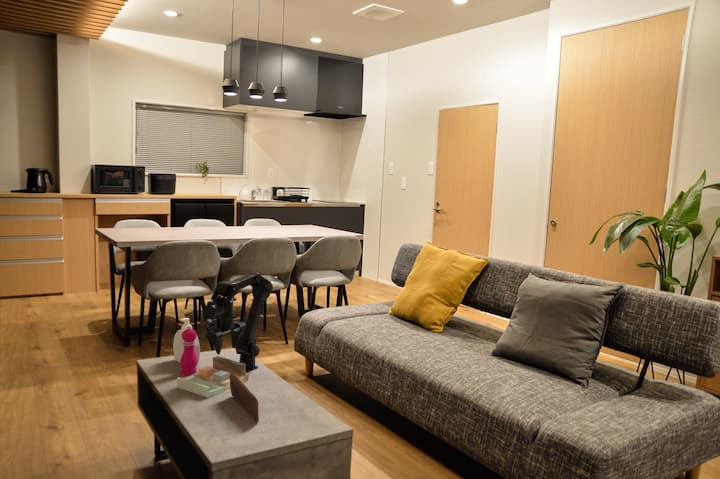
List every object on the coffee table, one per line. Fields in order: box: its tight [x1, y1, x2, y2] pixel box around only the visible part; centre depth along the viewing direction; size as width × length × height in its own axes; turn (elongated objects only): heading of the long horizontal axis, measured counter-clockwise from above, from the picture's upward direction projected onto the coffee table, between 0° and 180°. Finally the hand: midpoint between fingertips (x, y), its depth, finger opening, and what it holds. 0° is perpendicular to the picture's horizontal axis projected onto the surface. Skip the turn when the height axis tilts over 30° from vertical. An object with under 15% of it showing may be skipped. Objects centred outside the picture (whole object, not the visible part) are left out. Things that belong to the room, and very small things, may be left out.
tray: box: [176, 376, 225, 399], centre depth 211 cm, size 8×17×4 cm, turn 58°
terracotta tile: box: [198, 365, 215, 378], centre depth 218 cm, size 4×4×2 cm
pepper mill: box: [179, 325, 199, 376], centre depth 228 cm, size 7×7×20 cm
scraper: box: [212, 355, 247, 377], centre depth 223 cm, size 2×16×4 cm, turn 58°
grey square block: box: [213, 370, 230, 382], centre depth 214 cm, size 4×4×2 cm
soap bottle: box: [172, 317, 201, 366], centre depth 239 cm, size 16×5×20 cm, turn 43°
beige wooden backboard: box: [193, 369, 249, 392], centre depth 220 cm, size 14×16×3 cm
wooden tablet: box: [230, 373, 260, 423], centre depth 194 cm, size 26×2×10 cm, turn 33°
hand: (226, 351), depth 221 cm, fingers open, 9 cm apart
